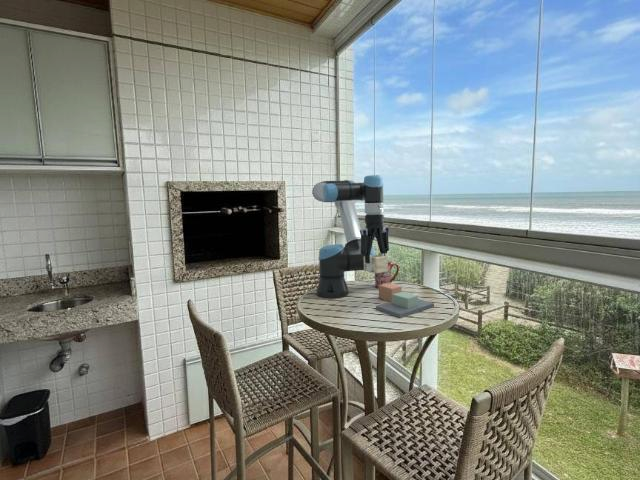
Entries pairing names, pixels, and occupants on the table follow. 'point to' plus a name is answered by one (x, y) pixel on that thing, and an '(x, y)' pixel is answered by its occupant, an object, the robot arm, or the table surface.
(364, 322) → the table surface
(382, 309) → the baseplate
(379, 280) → the mug
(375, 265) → the maple brick
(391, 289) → the terracotta brick
